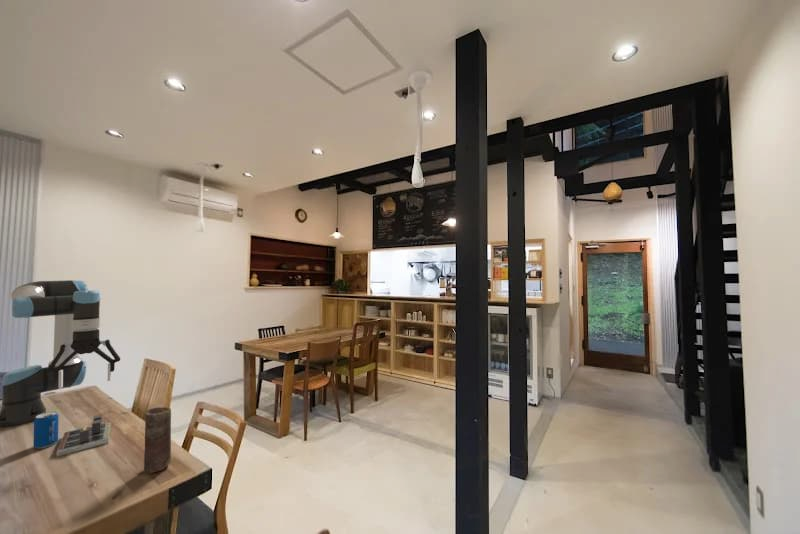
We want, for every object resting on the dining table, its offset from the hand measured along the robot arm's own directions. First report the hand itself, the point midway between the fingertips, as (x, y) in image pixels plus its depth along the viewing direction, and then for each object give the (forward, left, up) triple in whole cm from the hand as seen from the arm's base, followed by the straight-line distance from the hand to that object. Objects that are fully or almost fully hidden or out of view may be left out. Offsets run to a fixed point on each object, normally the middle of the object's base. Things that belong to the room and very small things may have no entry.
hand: (85, 383), depth 124 cm
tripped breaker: (0, 0, -22) cm, 22 cm away
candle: (+36, +21, -24) cm, 49 cm away
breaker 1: (-12, +3, -22) cm, 25 cm away
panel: (-6, 0, -24) cm, 25 cm away
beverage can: (-11, -12, -24) cm, 29 cm away
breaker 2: (-6, +3, -22) cm, 22 cm away
